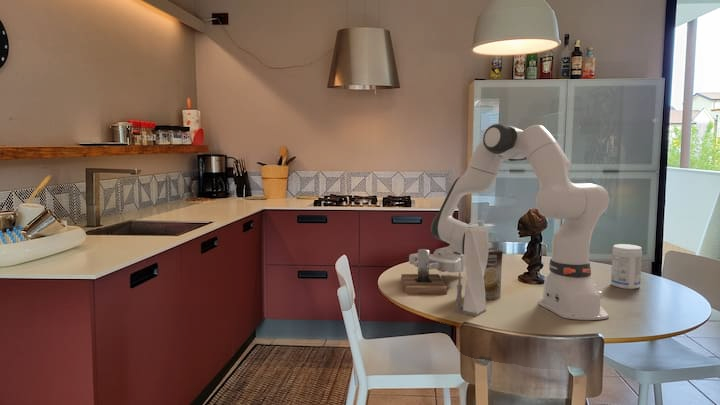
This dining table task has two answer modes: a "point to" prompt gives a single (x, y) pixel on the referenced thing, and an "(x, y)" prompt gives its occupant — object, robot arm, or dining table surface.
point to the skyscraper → (474, 271)
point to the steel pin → (423, 266)
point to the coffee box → (493, 274)
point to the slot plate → (423, 284)
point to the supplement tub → (626, 266)
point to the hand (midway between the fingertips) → (422, 265)
